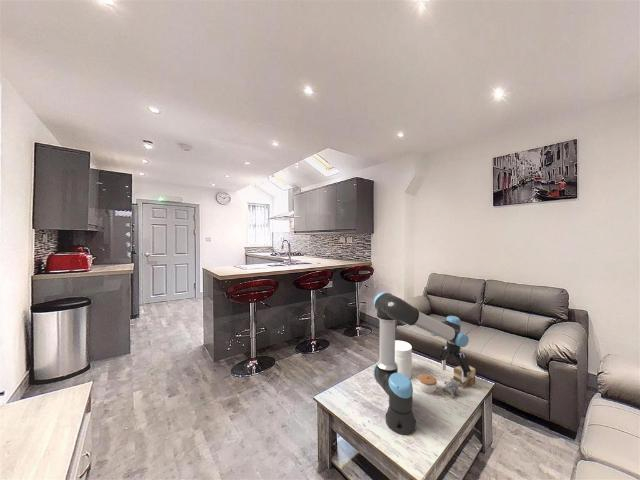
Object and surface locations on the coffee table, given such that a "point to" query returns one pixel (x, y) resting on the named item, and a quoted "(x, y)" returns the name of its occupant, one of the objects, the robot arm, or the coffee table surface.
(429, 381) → the lidded jar
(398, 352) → the canister
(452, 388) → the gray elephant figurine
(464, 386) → the tower base
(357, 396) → the coffee table surface
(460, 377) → the light wooden block
